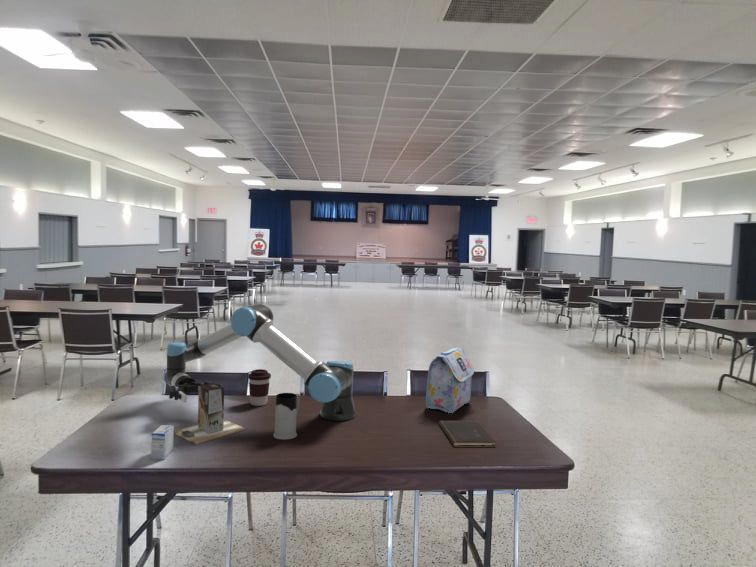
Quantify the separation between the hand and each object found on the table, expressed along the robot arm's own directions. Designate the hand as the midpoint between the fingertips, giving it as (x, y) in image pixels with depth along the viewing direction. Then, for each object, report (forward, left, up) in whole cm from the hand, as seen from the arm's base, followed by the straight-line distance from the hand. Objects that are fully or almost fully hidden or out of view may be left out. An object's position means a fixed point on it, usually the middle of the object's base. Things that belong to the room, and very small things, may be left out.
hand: (203, 396), depth 182 cm
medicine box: (-15, +23, -12) cm, 30 cm away
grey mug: (-29, -19, -12) cm, 36 cm away
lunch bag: (-56, -93, -12) cm, 109 cm away
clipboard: (-7, +1, -12) cm, 14 cm away
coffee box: (-7, +1, -11) cm, 13 cm away
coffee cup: (+8, -33, -12) cm, 36 cm away
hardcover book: (-79, -65, -13) cm, 103 cm away
